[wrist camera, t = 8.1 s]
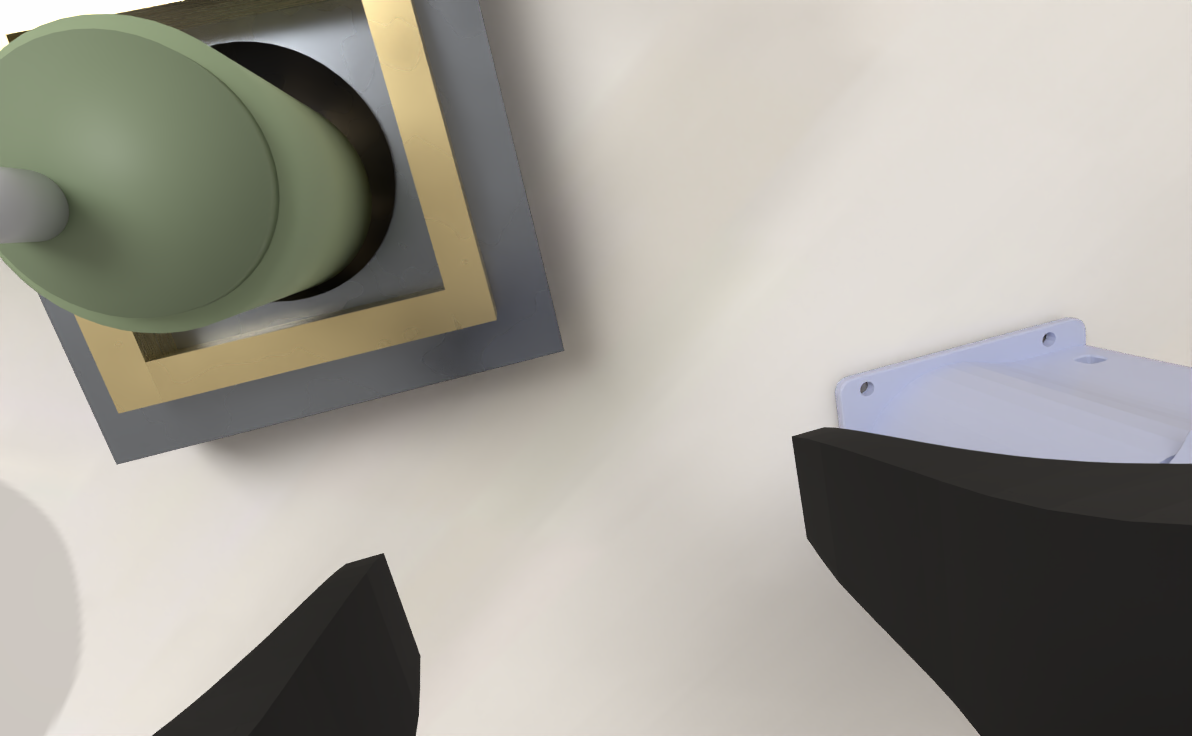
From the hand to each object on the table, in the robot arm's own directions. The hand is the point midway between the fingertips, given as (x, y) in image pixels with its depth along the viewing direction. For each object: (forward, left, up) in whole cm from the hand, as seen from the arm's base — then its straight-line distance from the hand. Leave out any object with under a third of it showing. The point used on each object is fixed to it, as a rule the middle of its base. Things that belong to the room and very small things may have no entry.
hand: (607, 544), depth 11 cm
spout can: (+6, -7, -7) cm, 12 cm away
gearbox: (+7, -8, -10) cm, 15 cm away
